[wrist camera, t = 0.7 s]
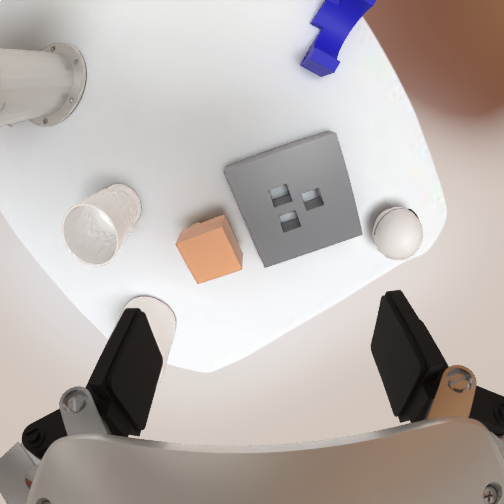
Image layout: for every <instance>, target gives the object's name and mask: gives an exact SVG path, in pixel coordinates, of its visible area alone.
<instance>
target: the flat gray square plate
mask: <svg viewBox="0 0 504 504" xmlns="http://www.w3.org/2000/svg"><path fill="white" fill-rule="evenodd" d="M224 174H225V176H226V178H227V181H228V183H229V185H230V188H231V190H232V192H233V195H234V197H235V199H236V202H237V204H238V206H239V209H240V211H241V213H242V216H243V218H244V220H245V223H246V225H247V227H248V230H249V232H250V234H251V237H252V239H253V241H254V244H255V246H256V248H257V251H258V253H259V255H260V258H261V260H262V262H263V265H264V267H265V268H266V267H269V266H272V265H275V264H278V263H281V262H284V261H287V260H290V259H293V258H296V257H299V256H302V255H304V254H307V253H310V252H313V251H316V250H319V249H322V248H325V247H328V246H331V245H334V244H337V243H340V242H342V241H345V240H348V239H351V238H354V237H357V236H360V235H362V230H361V225H360V220H359V216H358V212H357V207H356V203H355V199H354V195H353V191H352V187H351V183H350V180H349V176H348V172H347V169H346V165H345V161H344V158H343V155H342V151H341V148H340V144H339V141H338V138H337V135H336V133H334V132H332V131H327V132H324V133H320V134H317V135H314V136H311V137H308V138H304V139H301V140H298V141H295V142H292V143H289V144H286V145H283V146H280V147H278V148H275V149H272V150H269V151H266V152H263V153H261V154H258V155H255V156H252V157H250V158H247V159H244V160H242V161H239V162H237V163H234V164H231V165H229V166H226V167H225V170H224ZM284 184H286V185H287V188H288V191H289V193H290V194H289V195H286V196H283V197H280V198H277V199H274V200H272V197H271V195H270V192H269V190H270V189H273V188H275V187H278V186H281V185H284ZM313 189H317V192H318V195H319V198H316V199H314V200H311V201H308V202H305V203H304V202H303V199H302V196H301V193H304V192H307V191H310V190H313ZM294 210H295V211H296V214H297V216H298V218H296V219H293V220H290V221H288V222H285V223H282V224H281V221H280V219H279V216H280V215H283V214H286V213H289V212H292V211H294Z"/></svg>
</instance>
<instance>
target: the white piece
mask: <svg viewBox="0 0 504 504" xmlns="http://www.w3.org/2000/svg"><path fill="white" fill-rule="evenodd" d="M387 204H388V203H387ZM422 238H423V233H422V225H421V223H420V221H419V219H418V216H417V215H416V214H415V212H414V211H412V210H411V209H405V208H403V207H393V208H390V209H386V210H385V211H383V212H382V213H381V214H380V215H379V216H378V217H377V219H376V221H375V223H374V227H373V240H374V243H375V245H376V247H377V249H378V251H380V252H381V253H382V254H383V255H384V256H386V257H387V258H390V259H393V260H404V259H407V258H409V257H410V256H412V255H413V254H414V253H415V252H416V251H417V250H418V249H419V247H420V245H421V242H422Z"/></svg>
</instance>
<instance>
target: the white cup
mask: <svg viewBox="0 0 504 504" xmlns="http://www.w3.org/2000/svg"><path fill="white" fill-rule="evenodd" d="M141 209H142V208H141V203H140V199H139V197H138V196H137V194H136V193H135V191H134V190H133V189H131V188H129V187H128V186H126V185H123V184H114V185H111V186H109V187H107V188H105V189H102V190H100V191H98V192H96V193H95V194H93V195H91V196H89V197H87V198H86V199H84V200H82V201H81V202H79V203H78V204H76V205H74V206H73V207H71V208H70V209H69V210H68V211H67V212H66V214H65V216H64V218H63V222H62V235H63V239H64V242H65V244H66V246H67V248H68V249H69V251H70V252H71V253H72V254H73V255H74V256H75V257H76V258H77V259H78V260H80V261H81V262H83V263H85V264H88V265H91V266H102V265H105V264H107V263H109V262H110V261H111V260H112V259H113V258H114V257H115V255H116V254H117V252H118V251H119V249H120V248H121V246H122V245H123V243H124V242H125V240H126V239H127V237H128V236H129V234H130V233H131V231H132V229H133V227H134V225H135V224H136V222H137V221H138V220H139V218H140V213H141Z"/></svg>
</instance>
